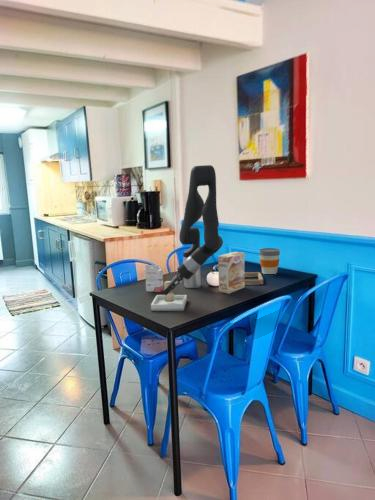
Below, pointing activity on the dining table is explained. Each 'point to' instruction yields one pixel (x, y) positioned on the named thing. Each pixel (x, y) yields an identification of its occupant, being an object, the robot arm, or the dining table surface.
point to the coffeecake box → (231, 272)
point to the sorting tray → (169, 303)
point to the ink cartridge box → (153, 278)
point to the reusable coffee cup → (269, 260)
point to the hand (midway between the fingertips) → (165, 292)
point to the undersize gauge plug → (170, 295)
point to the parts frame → (253, 282)
